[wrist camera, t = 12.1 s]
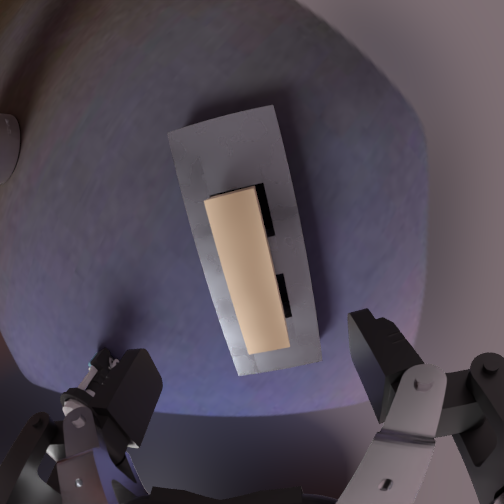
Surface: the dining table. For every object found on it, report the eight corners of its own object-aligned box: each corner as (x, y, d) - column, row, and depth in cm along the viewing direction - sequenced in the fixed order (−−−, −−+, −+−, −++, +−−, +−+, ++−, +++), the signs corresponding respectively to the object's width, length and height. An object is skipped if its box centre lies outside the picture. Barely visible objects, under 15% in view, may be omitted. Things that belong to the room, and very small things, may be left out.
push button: (147, 380, 29) (118, 441, 19) (122, 390, 30) (93, 444, 20) (110, 340, 27) (68, 396, 18) (88, 354, 28) (49, 404, 19)
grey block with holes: (240, 357, 27) (238, 375, 24) (178, 137, 21) (167, 132, 18) (317, 342, 26) (322, 360, 23) (271, 113, 20) (273, 104, 17)
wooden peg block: (251, 309, 25) (248, 354, 19) (220, 192, 22) (203, 200, 16) (283, 302, 25) (290, 346, 18) (255, 183, 22) (253, 188, 15)
